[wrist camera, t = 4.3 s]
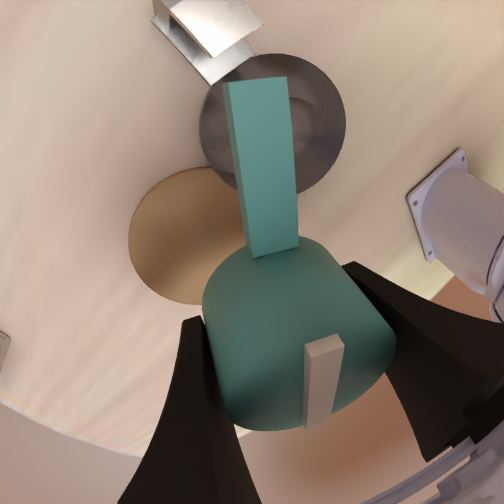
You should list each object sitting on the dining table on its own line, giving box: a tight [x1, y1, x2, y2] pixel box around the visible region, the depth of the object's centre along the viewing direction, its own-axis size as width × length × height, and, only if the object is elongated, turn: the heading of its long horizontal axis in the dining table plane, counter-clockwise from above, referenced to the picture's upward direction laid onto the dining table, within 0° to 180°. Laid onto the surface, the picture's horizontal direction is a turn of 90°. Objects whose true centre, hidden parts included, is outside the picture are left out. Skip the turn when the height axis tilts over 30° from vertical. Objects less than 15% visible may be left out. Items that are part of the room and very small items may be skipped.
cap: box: [202, 77, 396, 431], centre depth 8 cm, size 10×5×4 cm, turn 6°
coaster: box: [129, 167, 246, 305], centre depth 20 cm, size 10×10×1 cm
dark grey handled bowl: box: [151, 0, 346, 194], centre depth 13 cm, size 14×9×6 cm, turn 36°
